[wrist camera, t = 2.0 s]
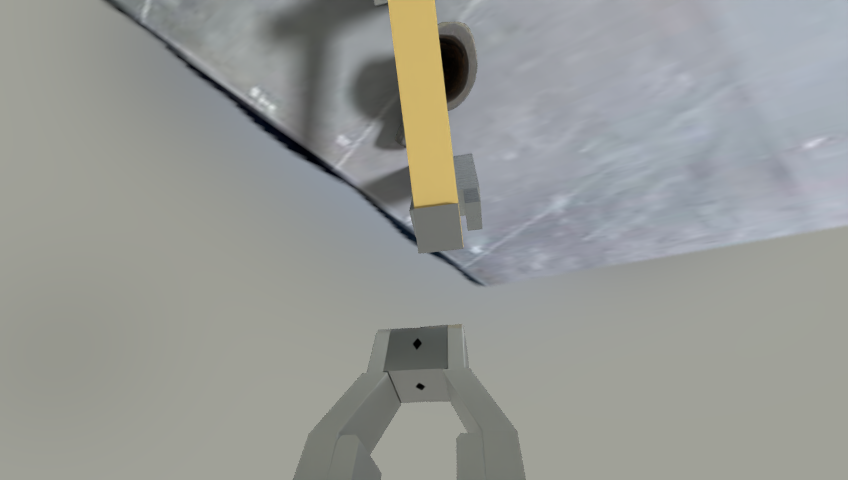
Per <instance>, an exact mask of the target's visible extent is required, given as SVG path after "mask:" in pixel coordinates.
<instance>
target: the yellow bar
mask: <svg viewBox="0 0 848 480" xmlns="http://www.w3.org/2000/svg"><path fill="white" fill-rule="evenodd" d="M388 6H389V14H390V21H391V29H392V37H393V45H394V53H395V61H396V68H397V76H398V84H399V92H400V100H401V108H402V116H403V123H404V131H405V139H406V147H407V155H408V163H409V170H410V178H411V186H412V194H413V202H414V209H413V214H414V222H415V229H416V237H417V245H418V253H428V252H437V251H447V250H456V249H463V237H462V229H461V220H460V212H459V204H458V195H457V187H456V178H455V170H454V161H453V153H452V144H451V136H450V127H449V119H448V110H447V102H446V93H445V85H444V76H443V68H442V59H441V51H440V42H439V34H438V25H437V17H436V8H435V0H388Z"/></svg>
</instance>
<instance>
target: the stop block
mask: <svg viewBox="0 0 848 480" xmlns="http://www.w3.org/2000/svg"><path fill="white" fill-rule="evenodd" d="M453 161H454V170H455V178H456V187H457V195H458V204H459V212H460V216H464V215H466V219H467V228H468V231H469V230H478V229H482V218H481V202H480V190H479V184H478V179H477V174H476V170H475V165H474V160H473V156H472V154H467V155H461V156H454V157H453ZM410 197H411V205H410V210H409V211H410V215H411V220H412V224H413V228H414V232H415V237H416V229H415V222H414V214H413V209H414V202H413V194H412V192H411V196H410Z"/></svg>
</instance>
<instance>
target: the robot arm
mask: <svg viewBox="0 0 848 480" xmlns="http://www.w3.org/2000/svg"><path fill="white" fill-rule="evenodd" d="M425 401H426V402H427V401H429V402H434V401H450V402H451V404H452V406H453V408H454V409H455V411H456V413H457V415H458V416H459V418H460V420H461V422H462V423H463V425H464V427H465V429H466V430H467V432H468V433H461V434H460V435H459V436H458V437H457V439H456V442H457V480H526V479H525V472H524V467H523V461H522V456H521V450H520V444H519V439H518V433H517V430H516V429H515V428H514V426H513V425H512V424H511V422H510V421H509V420H508V418H507V417H506V416H505V414H504V413H503V412H502V410H501V409H500V408H499V406H498V405H497V404H496V402H495V401H494V400H493V398H492V397H491V396H490V394H489V393H488V392H487V390H486V389H485V388H484V386H483V385H482V384H481V382H480V381H479V380H478V378H477V377H476V376H475V374H474V373H473V372H472V370H471V369H470V368H469V363H468V354H467V346H466V339H465V332H464V326H463V324H457V325H440V326H429V327H420V328H404V329H403V328H402V329H383V330H378V332H377V333H376V336H375V340H374V344H373V348H372V353H371V357H370V361H369V365H368V370H367V373H362V374H361V376H360V377H359V378H358V379H357V380H356V381H355V382H354V383H353V385H352V386H351V387H350V388H349V389H348V390H347V391H346V392H345V394H344V395H343V396H342V397H341V398H340V399H339V400H338V401H337V403H336V404H335V405H334V406H333V407H332V409H331V410H330V411H329V412H328V413H327V414H326V415H325V416H324V417H323V418H322V420H321V421H320V422H319V423H318V424H317V425H316V426H315V427H314V429H313V430H312V431H311V432H310V433H309V435H308V438H307V441H306V443H305V446H304V450H303V452H302V455H301V458H300V461H299V464H298V467H297V469H296V472H295V475H294V478H293V480H381V472H380V470H379V468H378V467H377V465H376V464H375V462H374V461H373V459H372V458H371V456H370V454H371V452H372V451H373V449H374V448H375V446H376V444H377V443H378V441H379V439H380V438H381V436H382V434H383V433H384V431H385V430H386V428H387V427H388V425H389V423H390V422H391V420H392V418H393V417H394V415H395V414H396V412H397V410H398V409H399V407H400V406H401V403H410V402H425Z"/></svg>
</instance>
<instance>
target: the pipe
mask: <svg viewBox="0 0 848 480" xmlns="http://www.w3.org/2000/svg"><path fill="white" fill-rule="evenodd" d="M437 25H438V34H439V42H440V51H441V59H442V68H443V76H444V85H445V93H446V102H447V110H448V111H449V110H452V109H454V108H456V107H457V106H459V105H460V104H461V103H462V102H463V101H464V100H465V99H466V97H467V96H468V95H469V93H470V91H471V89H472V87H473V84H474V82H475V79H476V73H477V54H476V47H475V42H474V38H473V35H472V33H471V31H470V29H469V27H468V26H467V25H466V24H464V23H461V22H442V23H439V24H437ZM395 140H396V141H397V142H398V143H399V144H400V145H402V146H404V147H406V139H405V131H404V123H403V121H402V123H401V126H400V128H399V130H398V132H397V134H396V137H395Z"/></svg>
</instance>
